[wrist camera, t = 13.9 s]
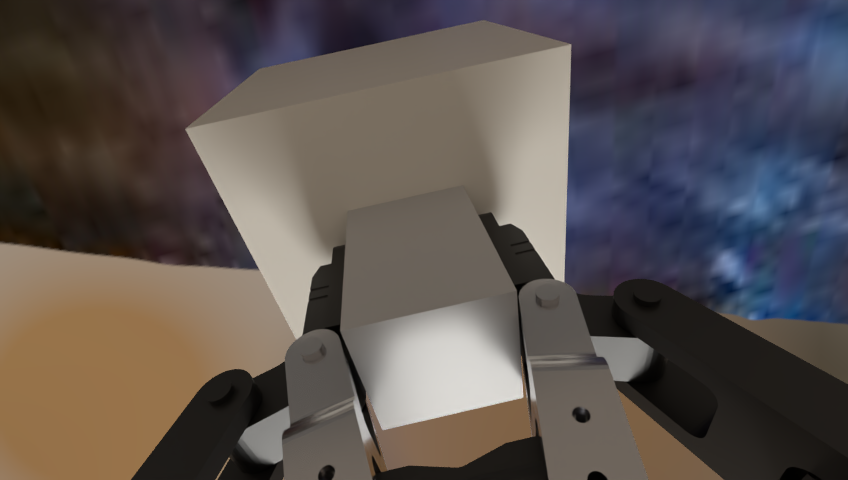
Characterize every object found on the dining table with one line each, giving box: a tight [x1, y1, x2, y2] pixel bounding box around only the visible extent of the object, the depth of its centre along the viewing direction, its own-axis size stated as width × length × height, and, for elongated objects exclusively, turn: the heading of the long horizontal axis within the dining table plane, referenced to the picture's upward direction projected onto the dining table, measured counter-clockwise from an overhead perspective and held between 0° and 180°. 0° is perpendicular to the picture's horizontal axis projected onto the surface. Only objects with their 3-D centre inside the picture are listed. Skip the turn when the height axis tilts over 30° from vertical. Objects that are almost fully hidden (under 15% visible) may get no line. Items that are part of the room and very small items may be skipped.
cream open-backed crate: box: [186, 20, 571, 430], centre depth 15 cm, size 10×10×14 cm
